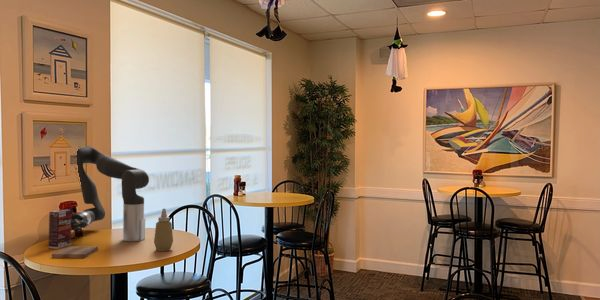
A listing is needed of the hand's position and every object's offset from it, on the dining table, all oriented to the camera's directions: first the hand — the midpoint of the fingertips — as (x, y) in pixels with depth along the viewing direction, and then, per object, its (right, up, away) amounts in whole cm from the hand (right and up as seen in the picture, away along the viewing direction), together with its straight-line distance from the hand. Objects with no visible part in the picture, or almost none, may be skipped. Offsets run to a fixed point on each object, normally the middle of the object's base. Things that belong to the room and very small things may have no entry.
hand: (63, 226), depth 204 cm
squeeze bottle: (+46, -9, -5) cm, 47 cm away
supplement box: (0, -8, -3) cm, 9 cm away
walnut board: (+13, -9, -14) cm, 21 cm away
